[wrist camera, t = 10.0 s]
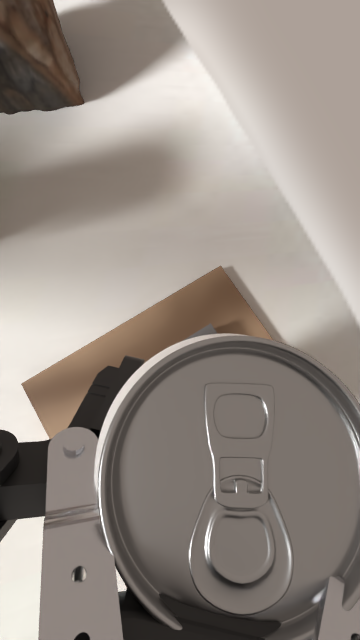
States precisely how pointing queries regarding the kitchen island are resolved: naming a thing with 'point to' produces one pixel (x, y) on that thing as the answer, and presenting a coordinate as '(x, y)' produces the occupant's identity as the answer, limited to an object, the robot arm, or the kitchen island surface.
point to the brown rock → (35, 59)
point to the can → (233, 482)
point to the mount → (142, 343)
